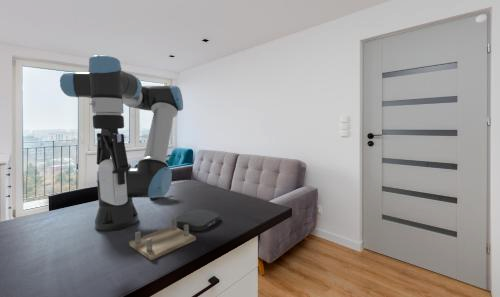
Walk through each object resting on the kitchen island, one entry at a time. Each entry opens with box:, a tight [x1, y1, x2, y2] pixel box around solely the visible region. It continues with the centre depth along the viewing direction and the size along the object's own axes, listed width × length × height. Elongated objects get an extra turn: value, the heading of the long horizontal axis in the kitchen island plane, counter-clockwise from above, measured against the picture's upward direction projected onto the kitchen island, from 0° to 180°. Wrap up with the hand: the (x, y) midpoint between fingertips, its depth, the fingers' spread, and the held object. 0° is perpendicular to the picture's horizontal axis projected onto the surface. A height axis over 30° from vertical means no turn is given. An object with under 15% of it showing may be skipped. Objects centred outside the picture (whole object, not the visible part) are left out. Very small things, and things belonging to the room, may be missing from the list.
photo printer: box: [97, 158, 127, 205], centre depth 69 cm, size 10×4×12 cm, turn 52°
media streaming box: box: [175, 209, 220, 232], centre depth 97 cm, size 15×15×3 cm
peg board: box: [128, 218, 197, 261], centre depth 80 cm, size 14×16×5 cm
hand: (113, 192), depth 70 cm, fingers closed on photo printer, 10 cm apart
